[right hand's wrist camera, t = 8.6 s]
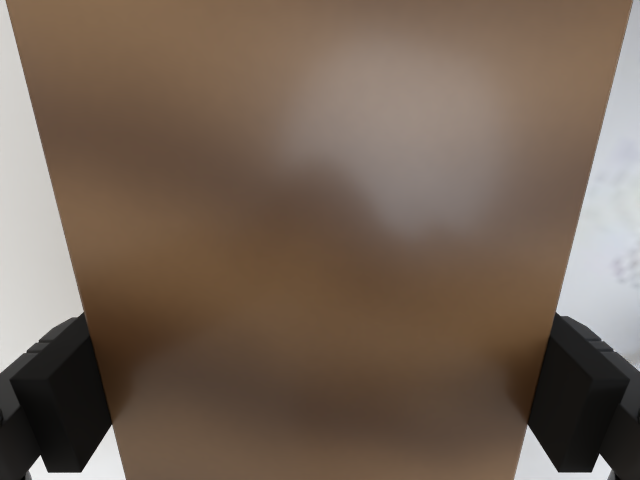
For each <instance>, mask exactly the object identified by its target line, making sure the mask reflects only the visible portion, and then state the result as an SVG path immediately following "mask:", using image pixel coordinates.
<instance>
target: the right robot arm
mask: <svg viewBox="0 0 640 480" xmlns="http://www.w3.org/2000/svg"><path fill="white" fill-rule="evenodd" d="M111 425H112V421H111V417H110V413H109V409H108V405H107V401H106V397H105V393H104V389H103V385H102V382H101V378H100V374H99V370H98V366H97V362H96V358H95V354H94V350H93V346H92V342H91V338H90V334H89V330H88V326H87V322H86V318H85V314H84V312H83V313H82V314H81V315H80V316H79V317H78V318H71V319H69V320H67V321H65V322H63V323H61V324H60V325H58V326H56V327H54V328H53V329H51V330H50V331H49V332H48V333H47V334H46V335H44V336H43V337H42V338H41V339H40V340H39V342H38V343H35V344H34V345H33V346H32V347H30V348H29V349H28V350H27V353H23V354H22V355H21V356H20V357H19V358H18V359H17V360H15V361H14V362H13V363H12V364H11V365H10V366H8V367H7V368H6V369H5V370H4V371H3V372H1V373H0V480H32V479H31V475H30V473H29V471H28V470H29V469H30V467H31V466H32V465H33V464H34V462H35V461H36V460H37V459H38V457H39V456H40V455H41V457H42V459H43V462H44V464H45V466H46V469H47V471H48V473H81V472H82V470H83V469H84V467H85V466H86V464H87V463H88V461H89V459H90V458H91V456H92V455H93V453H94V452H95V450H96V448H97V447H98V445H99V444H100V442H101V441H102V439H103V438H104V436H105V434H106V433H107V431H108V430H109V428H110V427H111ZM528 426H529V427H530V429H531V430H532V432H533V433H534V435H535V436H536V438H537V440H538V441H539V443H540V444H541V446H542V447H543V449H544V451H545V452H546V454H547V455H548V457H549V458H550V460H551V462H552V463H553V465H554V466H555V468H556V469H557V471H558V472H592V470H593V468H594V465H595V463H596V460H597V458H598V456H599V453H600V454H601V456H602V457H603V458H604V460H605V461H606V462H607V463H608V465H609V466H610V467H611V468H612V471H611V473H610V475H609V477H608V479H607V480H640V372H639V371H638V370H637V369H636V368H635V367H633V366H632V365H631V364H630V363H629V362H628V361H626V360H625V359H624V358H623V357H622V356H621V355H619V354H618V353H617V352H614V351H613V349H612V348H611V347H610V346H609V345H608V344H606V343H605V342H604V341H601V338H599V337H598V336H597V335H596V334H595V333H594V332H592V331H591V330H590V329H589V328H588V327H586V326H585V325H583V324H581V323H579V322H577V321H575V320H574V319H572V318H570V317H568V316H560V315H559V314H557V313H556V312H555V316H554V320H553V324H552V328H551V332H550V336H549V340H548V344H547V348H546V352H545V356H544V360H543V364H542V368H541V372H540V376H539V380H538V384H537V388H536V392H535V396H534V400H533V405H532V409H531V413H530V417H529V421H528Z"/></svg>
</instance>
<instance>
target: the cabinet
mask: <svg viewBox="0 0 640 480" xmlns="http://www.w3.org/2000/svg"><path fill="white" fill-rule="evenodd" d="M632 3H633V0H6V4H7V8H8V12H9V16H10V20H11V24H12V28H13V32H14V36H15V40H16V43H17V47H18V51H19V55H20V59H21V63H22V67H23V71H24V75H25V79H26V83H27V87H28V91H29V95H30V99H31V103H32V107H33V111H34V115H35V119H36V123H37V127H38V131H39V135H40V139H41V143H42V147H43V151H44V155H45V159H46V163H47V167H48V171H49V175H50V179H51V183H52V187H53V191H54V195H55V199H56V203H57V207H58V211H59V214H60V218H61V222H62V226H63V230H64V234H65V238H66V242H67V246H68V250H69V254H70V258H71V262H72V266H73V270H74V274H75V278H76V282H77V286H78V290H79V294H80V298H81V302H82V306H83V310H84V314H85V318H86V322H87V326H88V330H89V334H90V338H91V342H92V346H93V350H94V354H95V358H96V362H97V366H98V370H99V374H100V378H101V382H102V385H103V389H104V393H105V397H106V401H107V405H108V409H109V413H110V417H111V421H112V425H113V429H114V433H115V437H116V441H117V445H118V449H119V453H120V457H121V461H122V465H123V469H124V473H125V477H126V480H514V477H515V473H516V469H517V465H518V461H519V457H520V453H521V449H522V445H523V441H524V437H525V433H526V429H527V425H528V421H529V417H530V413H531V409H532V405H533V400H534V396H535V392H536V388H537V384H538V380H539V376H540V372H541V368H542V364H543V360H544V356H545V352H546V348H547V344H548V340H549V336H550V332H551V328H552V324H553V320H554V316H555V312H556V308H557V304H558V300H559V296H560V292H561V288H562V284H563V280H564V276H565V272H566V268H567V264H568V260H569V256H570V252H571V248H572V244H573V240H574V236H575V232H576V228H577V224H578V220H579V216H580V212H581V208H582V204H583V200H584V196H585V192H586V188H587V184H588V180H589V176H590V172H591V168H592V164H593V160H594V156H595V152H596V148H597V144H598V140H599V136H600V132H601V128H602V124H603V120H604V116H605V112H606V108H607V104H608V100H609V95H610V91H611V87H612V83H613V79H614V75H615V71H616V67H617V63H618V59H619V55H620V51H621V47H622V43H623V39H624V35H625V31H626V27H627V23H628V19H629V15H630V11H631V7H632Z"/></svg>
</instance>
